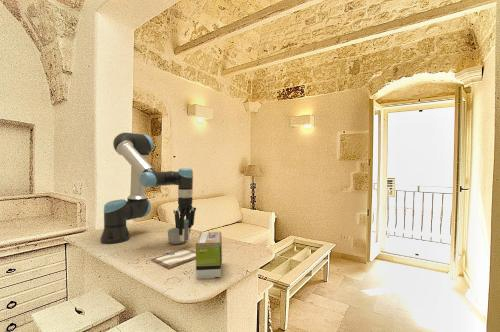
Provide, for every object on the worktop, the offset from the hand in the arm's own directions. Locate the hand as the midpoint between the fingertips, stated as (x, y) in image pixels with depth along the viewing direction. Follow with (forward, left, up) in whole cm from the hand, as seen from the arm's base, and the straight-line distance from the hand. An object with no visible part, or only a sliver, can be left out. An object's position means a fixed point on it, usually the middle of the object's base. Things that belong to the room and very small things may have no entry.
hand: (184, 239), depth 130 cm
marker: (0, 0, -1) cm, 1 cm away
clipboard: (+10, -11, -4) cm, 15 cm away
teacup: (-11, +4, -5) cm, 13 cm away
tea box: (+32, -10, -5) cm, 33 cm away
